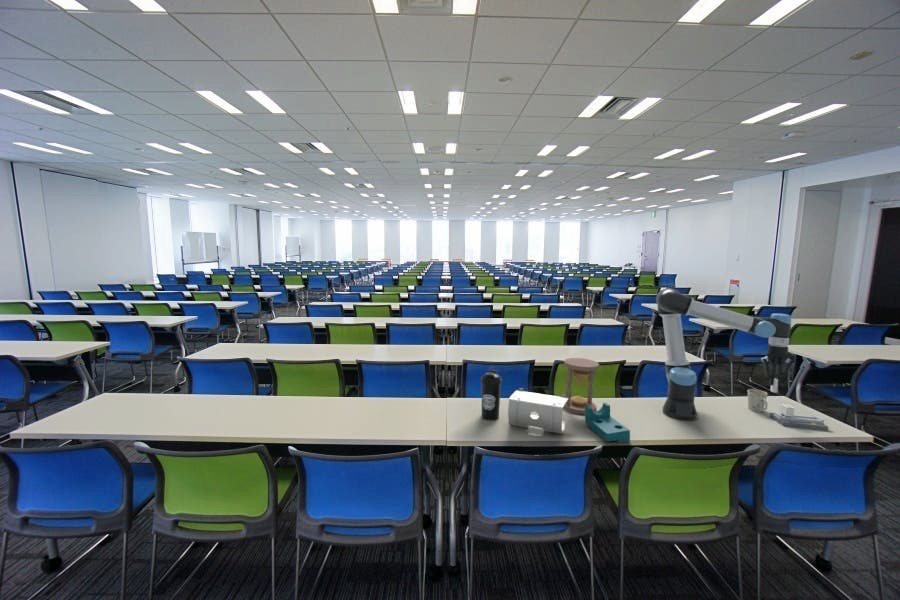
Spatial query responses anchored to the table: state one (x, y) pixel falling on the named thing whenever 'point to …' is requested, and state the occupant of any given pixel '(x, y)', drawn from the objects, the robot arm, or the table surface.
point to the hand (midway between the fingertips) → (773, 391)
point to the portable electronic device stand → (543, 405)
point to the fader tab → (787, 410)
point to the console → (800, 421)
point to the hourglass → (581, 373)
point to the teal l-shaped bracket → (606, 424)
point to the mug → (757, 400)
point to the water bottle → (491, 395)
